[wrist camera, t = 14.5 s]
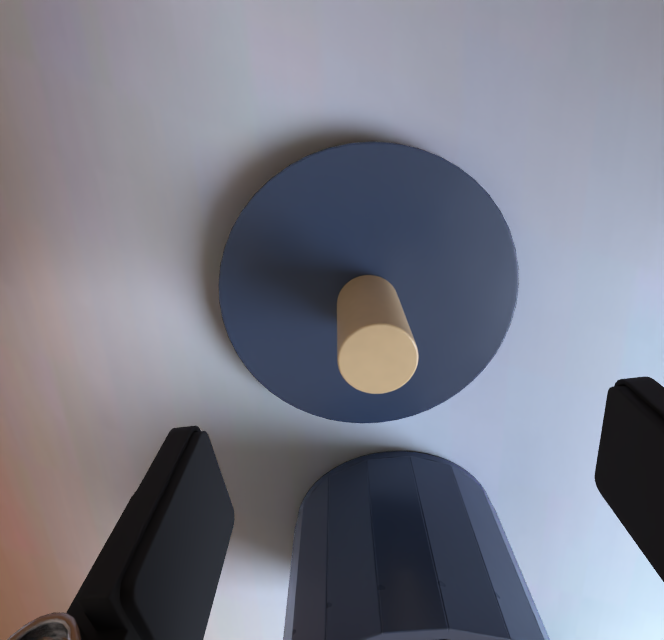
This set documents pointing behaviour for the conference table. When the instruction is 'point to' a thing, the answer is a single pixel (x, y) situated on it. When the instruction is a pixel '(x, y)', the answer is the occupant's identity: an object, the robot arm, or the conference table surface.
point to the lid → (368, 282)
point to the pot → (404, 557)
